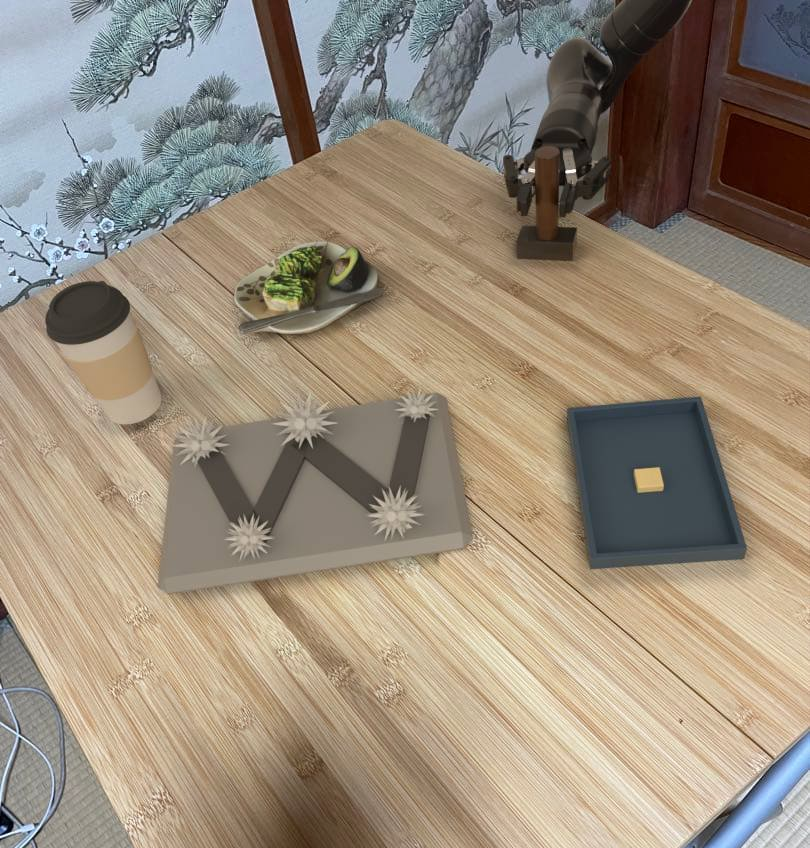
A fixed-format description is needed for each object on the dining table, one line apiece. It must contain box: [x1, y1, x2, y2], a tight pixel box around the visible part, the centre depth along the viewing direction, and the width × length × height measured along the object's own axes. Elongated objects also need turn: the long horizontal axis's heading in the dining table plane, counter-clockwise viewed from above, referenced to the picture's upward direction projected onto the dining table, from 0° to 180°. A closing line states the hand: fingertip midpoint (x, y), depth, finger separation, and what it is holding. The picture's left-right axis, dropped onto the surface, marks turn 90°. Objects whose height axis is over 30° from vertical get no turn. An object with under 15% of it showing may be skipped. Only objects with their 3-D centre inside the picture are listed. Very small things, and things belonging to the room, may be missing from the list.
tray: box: [566, 396, 748, 570], centre depth 79 cm, size 19×13×2 cm
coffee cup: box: [44, 280, 163, 426], centre depth 92 cm, size 9×9×15 cm
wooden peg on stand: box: [516, 146, 578, 262], centre depth 101 cm, size 4×7×13 cm, turn 74°
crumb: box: [634, 467, 664, 493], centre depth 79 cm, size 2×2×1 cm
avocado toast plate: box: [233, 240, 386, 335], centre depth 104 cm, size 19×18×5 cm
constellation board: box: [157, 386, 474, 595], centre depth 82 cm, size 30×22×7 cm
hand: (543, 209), depth 98 cm, fingers open, 4 cm apart
